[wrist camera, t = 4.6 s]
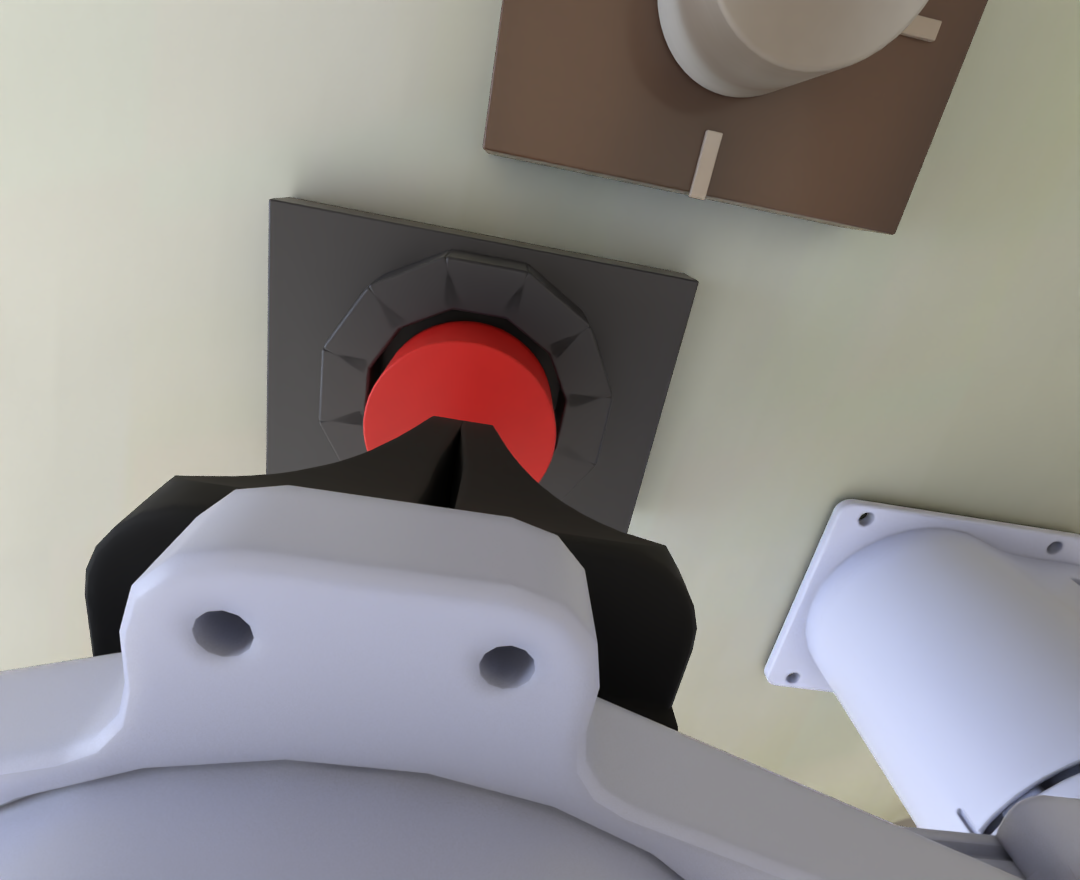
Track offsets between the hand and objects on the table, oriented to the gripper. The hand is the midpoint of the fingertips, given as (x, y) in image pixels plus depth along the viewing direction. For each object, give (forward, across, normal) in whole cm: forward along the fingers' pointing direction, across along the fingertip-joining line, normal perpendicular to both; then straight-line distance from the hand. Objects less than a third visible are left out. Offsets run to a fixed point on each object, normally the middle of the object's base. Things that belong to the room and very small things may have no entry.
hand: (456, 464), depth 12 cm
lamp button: (+4, 0, 0) cm, 4 cm away
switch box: (+6, 0, 0) cm, 6 cm away
